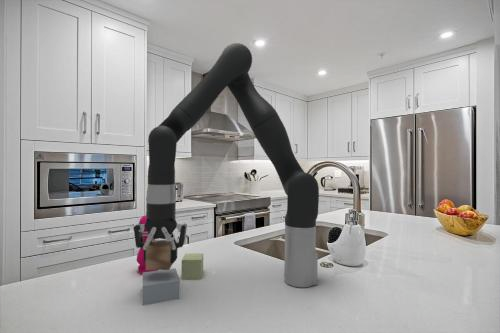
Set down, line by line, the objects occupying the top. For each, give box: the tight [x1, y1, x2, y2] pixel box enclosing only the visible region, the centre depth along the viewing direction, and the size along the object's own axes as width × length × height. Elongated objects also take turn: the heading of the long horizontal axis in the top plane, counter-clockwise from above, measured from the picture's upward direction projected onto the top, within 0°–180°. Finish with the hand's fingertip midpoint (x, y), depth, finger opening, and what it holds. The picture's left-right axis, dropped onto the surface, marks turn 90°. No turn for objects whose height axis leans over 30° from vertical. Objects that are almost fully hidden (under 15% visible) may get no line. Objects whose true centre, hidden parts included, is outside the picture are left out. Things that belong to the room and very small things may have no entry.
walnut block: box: [146, 239, 174, 270], centre depth 72 cm, size 6×6×6 cm
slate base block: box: [141, 268, 181, 306], centre depth 72 cm, size 9×9×5 cm
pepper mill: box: [136, 214, 158, 275], centre depth 88 cm, size 7×7×20 cm
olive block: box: [180, 252, 204, 280], centre depth 85 cm, size 6×6×6 cm
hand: (160, 262), depth 72 cm, fingers closed on walnut block, 6 cm apart
